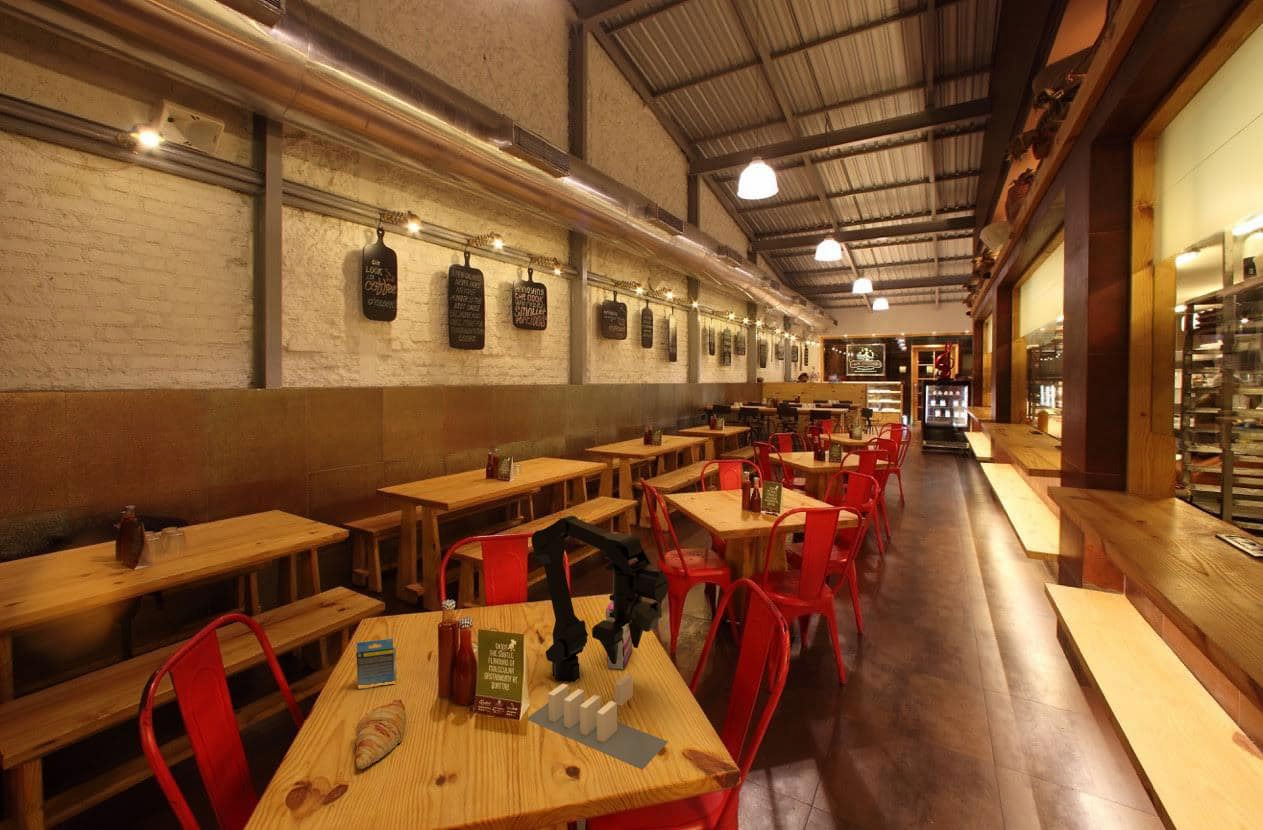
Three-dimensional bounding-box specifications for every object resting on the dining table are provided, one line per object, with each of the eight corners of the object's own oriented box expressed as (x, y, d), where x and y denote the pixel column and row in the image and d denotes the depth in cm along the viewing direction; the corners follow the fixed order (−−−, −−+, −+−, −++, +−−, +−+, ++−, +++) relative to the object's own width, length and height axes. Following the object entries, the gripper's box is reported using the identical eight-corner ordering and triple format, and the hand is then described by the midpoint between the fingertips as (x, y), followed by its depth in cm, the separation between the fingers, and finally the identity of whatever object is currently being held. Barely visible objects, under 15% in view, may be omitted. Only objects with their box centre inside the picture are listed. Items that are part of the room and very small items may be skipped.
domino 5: (615, 708, 128) (615, 683, 127) (627, 698, 132) (626, 673, 131) (621, 710, 127) (620, 684, 126) (632, 699, 131) (632, 675, 131)
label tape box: (397, 677, 143) (395, 631, 143) (394, 685, 139) (393, 638, 139) (360, 682, 141) (358, 636, 140) (357, 691, 137) (355, 643, 136)
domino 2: (564, 726, 119) (563, 699, 119) (578, 714, 123) (578, 688, 123) (570, 728, 118) (569, 701, 118) (584, 717, 122) (583, 691, 122)
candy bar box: (615, 649, 156) (614, 593, 156) (632, 651, 155) (631, 594, 155) (606, 669, 146) (605, 608, 145) (624, 670, 145) (623, 610, 144)
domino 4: (597, 740, 114) (596, 712, 114) (611, 727, 118) (610, 700, 118) (603, 742, 113) (602, 714, 113) (617, 730, 117) (616, 703, 117)
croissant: (376, 790, 107) (394, 754, 107) (328, 771, 106) (346, 734, 106) (410, 723, 128) (425, 693, 128) (370, 706, 127) (385, 676, 127)
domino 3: (580, 733, 117) (579, 705, 116) (594, 721, 121) (594, 694, 121) (586, 735, 116) (585, 708, 116) (600, 723, 120) (599, 696, 120)
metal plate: (525, 723, 122) (525, 718, 122) (555, 701, 130) (555, 697, 130) (642, 774, 105) (642, 769, 105) (668, 746, 113) (668, 741, 113)
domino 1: (548, 719, 122) (548, 693, 121) (563, 708, 126) (563, 683, 126) (554, 722, 121) (553, 695, 120) (568, 710, 125) (568, 685, 125)
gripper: (632, 612, 116) (632, 683, 116) (674, 585, 131) (674, 648, 132) (590, 600, 122) (590, 668, 122) (635, 576, 137) (635, 636, 138)
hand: (625, 655), depth 129 cm, fingers open, 9 cm apart
